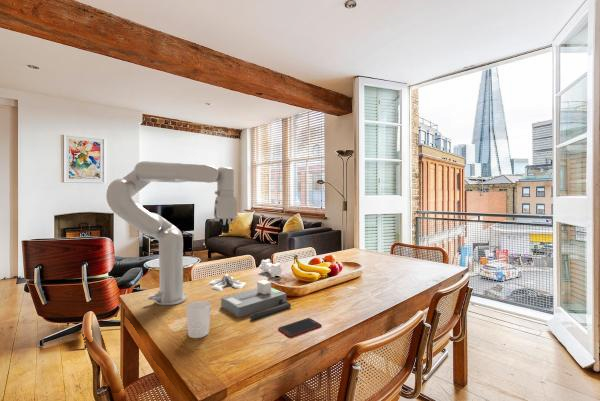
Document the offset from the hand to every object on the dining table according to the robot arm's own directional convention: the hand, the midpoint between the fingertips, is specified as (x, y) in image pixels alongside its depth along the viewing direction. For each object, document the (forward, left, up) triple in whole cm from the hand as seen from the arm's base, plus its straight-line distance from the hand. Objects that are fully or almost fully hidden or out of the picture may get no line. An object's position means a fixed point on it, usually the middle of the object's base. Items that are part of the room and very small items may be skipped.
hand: (225, 232), depth 140 cm
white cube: (+8, -20, -25) cm, 33 cm away
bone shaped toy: (+36, +12, -29) cm, 48 cm away
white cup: (-26, -29, -29) cm, 49 cm away
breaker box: (+3, -20, -29) cm, 35 cm away
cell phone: (+3, -49, -30) cm, 57 cm away
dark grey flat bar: (+3, -30, -29) cm, 42 cm away
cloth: (+8, +13, -30) cm, 34 cm away
